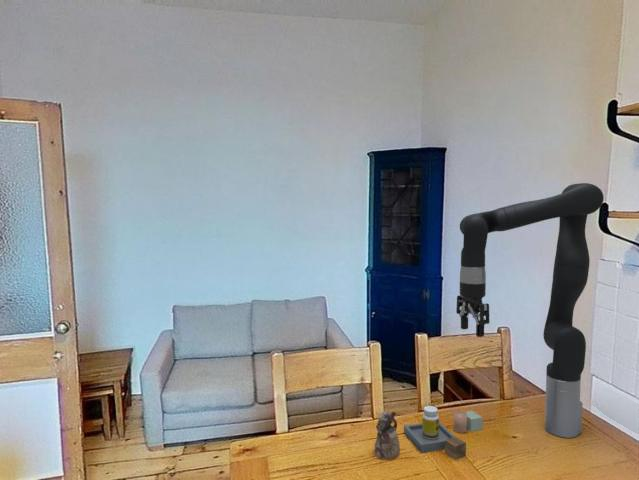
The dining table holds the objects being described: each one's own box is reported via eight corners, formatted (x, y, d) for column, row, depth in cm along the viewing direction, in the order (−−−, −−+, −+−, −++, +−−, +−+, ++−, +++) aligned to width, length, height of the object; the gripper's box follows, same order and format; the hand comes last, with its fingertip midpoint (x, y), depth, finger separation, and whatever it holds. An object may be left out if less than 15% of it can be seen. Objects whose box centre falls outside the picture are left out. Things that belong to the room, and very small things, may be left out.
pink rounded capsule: (456, 426, 147) (456, 410, 147) (469, 429, 145) (468, 413, 145) (451, 430, 144) (451, 414, 144) (464, 434, 141) (464, 417, 141)
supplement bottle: (439, 440, 136) (439, 413, 135) (422, 439, 137) (422, 411, 136) (438, 432, 141) (438, 405, 140) (422, 431, 142) (422, 404, 141)
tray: (438, 428, 146) (438, 420, 146) (458, 447, 135) (458, 439, 135) (403, 433, 143) (403, 425, 143) (421, 453, 132) (421, 444, 132)
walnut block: (454, 449, 134) (455, 436, 133) (465, 456, 130) (465, 442, 130) (444, 453, 132) (444, 439, 131) (455, 460, 128) (455, 446, 128)
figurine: (372, 447, 136) (371, 407, 134) (396, 445, 136) (395, 405, 135) (377, 460, 129) (377, 418, 127) (402, 459, 129) (402, 417, 128)
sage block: (472, 422, 149) (472, 410, 149) (482, 429, 145) (482, 417, 144) (461, 424, 148) (461, 412, 148) (471, 432, 143) (471, 419, 143)
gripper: (497, 284, 136) (496, 338, 138) (470, 276, 150) (469, 325, 152) (474, 285, 135) (474, 340, 136) (449, 277, 148) (449, 327, 150)
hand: (471, 332), depth 144 cm, fingers open, 8 cm apart
